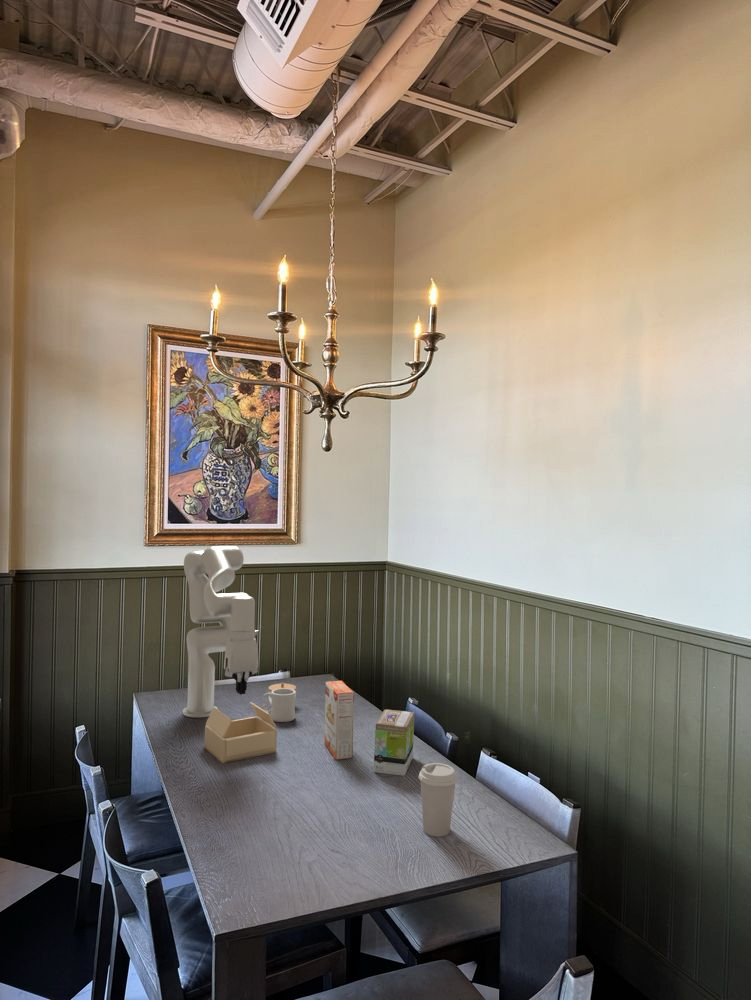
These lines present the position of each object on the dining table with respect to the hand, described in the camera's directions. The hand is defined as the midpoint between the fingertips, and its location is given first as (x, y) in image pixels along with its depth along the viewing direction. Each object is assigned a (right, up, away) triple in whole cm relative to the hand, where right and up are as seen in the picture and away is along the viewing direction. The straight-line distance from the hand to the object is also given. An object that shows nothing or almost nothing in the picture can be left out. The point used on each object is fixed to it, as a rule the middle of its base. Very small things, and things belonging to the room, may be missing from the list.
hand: (241, 693), depth 213 cm
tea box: (+48, -20, -8) cm, 53 cm away
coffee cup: (+58, -20, -48) cm, 78 cm away
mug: (+7, -19, +32) cm, 37 cm away
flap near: (-6, -8, -4) cm, 11 cm away
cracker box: (+31, -19, +2) cm, 36 cm away
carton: (0, -18, +1) cm, 18 cm away
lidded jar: (+7, -19, +45) cm, 49 cm away
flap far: (+6, -8, +5) cm, 11 cm away
